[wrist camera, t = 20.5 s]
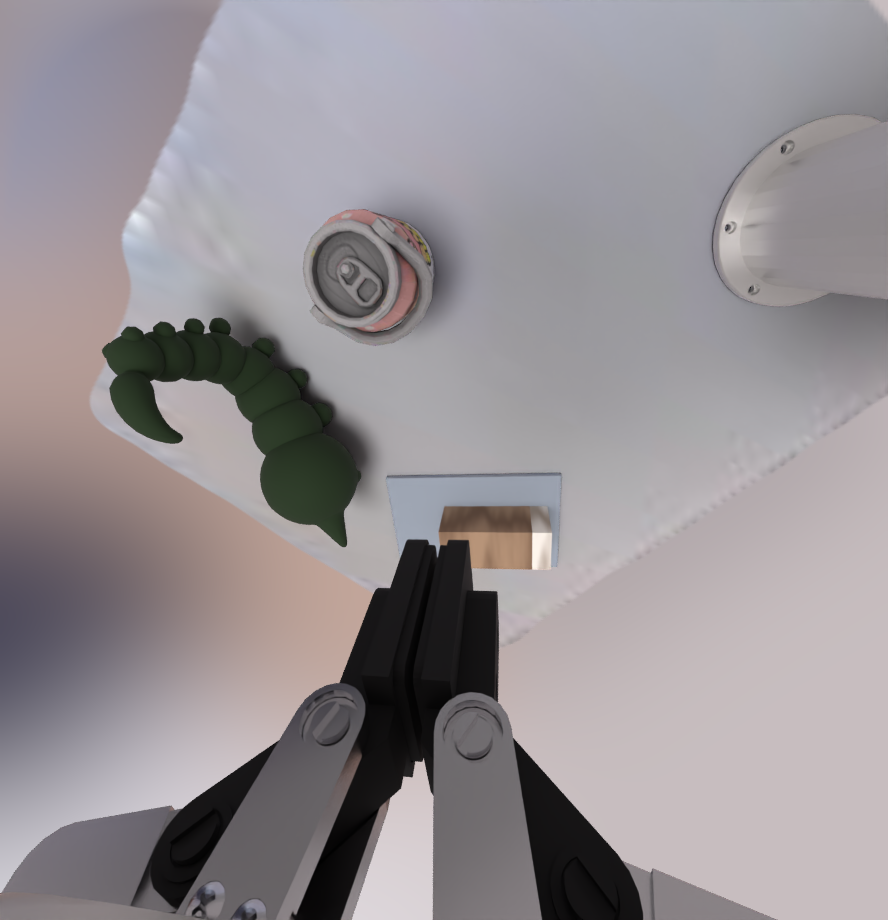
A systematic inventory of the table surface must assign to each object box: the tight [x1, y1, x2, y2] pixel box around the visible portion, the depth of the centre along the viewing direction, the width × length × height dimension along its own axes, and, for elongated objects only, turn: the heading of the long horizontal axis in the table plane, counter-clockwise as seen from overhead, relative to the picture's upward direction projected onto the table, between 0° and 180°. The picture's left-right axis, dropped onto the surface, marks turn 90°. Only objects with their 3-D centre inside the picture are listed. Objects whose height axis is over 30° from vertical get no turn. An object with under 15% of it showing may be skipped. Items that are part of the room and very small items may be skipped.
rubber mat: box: [386, 473, 561, 567], centre depth 49 cm, size 20×13×1 cm, turn 95°
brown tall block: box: [438, 506, 552, 570], centre depth 46 cm, size 5×5×12 cm
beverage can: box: [303, 209, 435, 346], centre depth 32 cm, size 9×8×12 cm
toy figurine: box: [102, 318, 361, 547], centre depth 38 cm, size 9×19×25 cm
